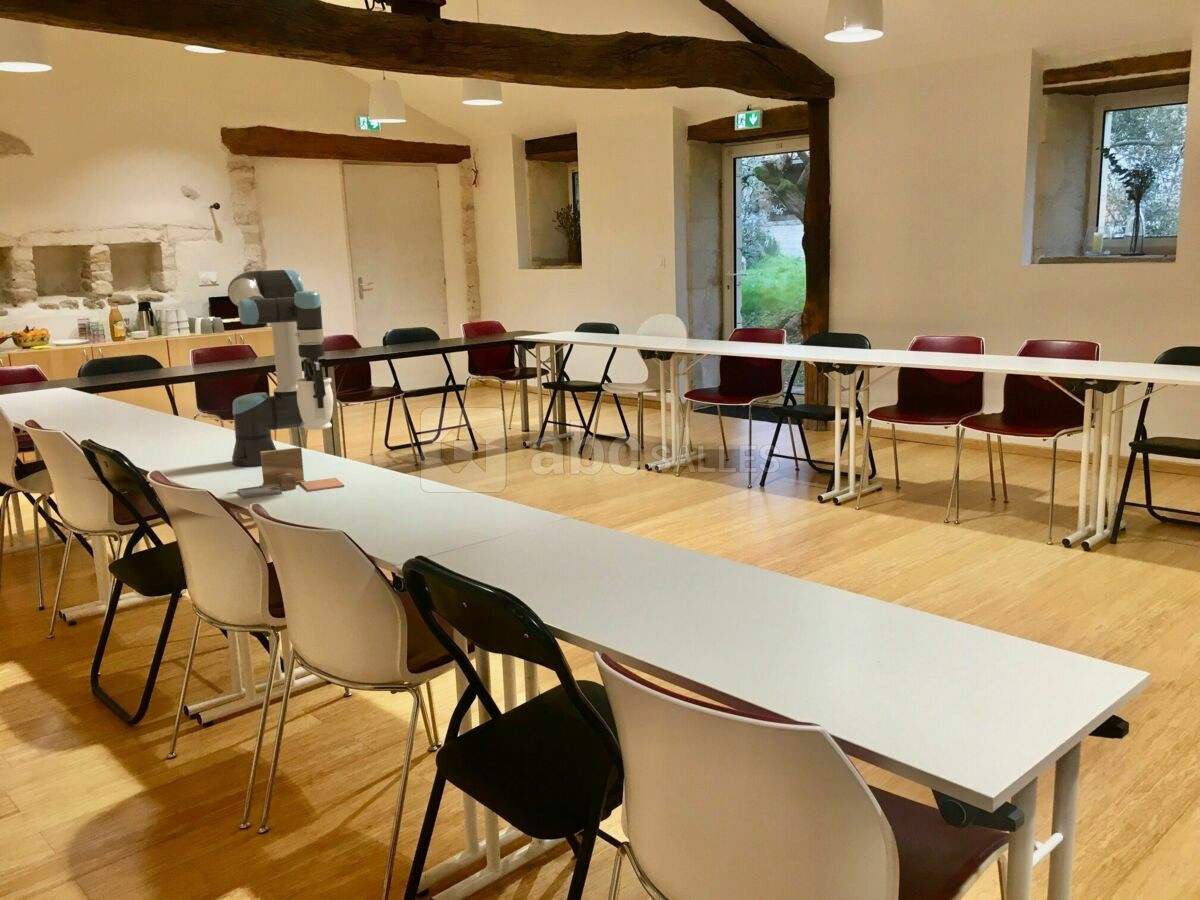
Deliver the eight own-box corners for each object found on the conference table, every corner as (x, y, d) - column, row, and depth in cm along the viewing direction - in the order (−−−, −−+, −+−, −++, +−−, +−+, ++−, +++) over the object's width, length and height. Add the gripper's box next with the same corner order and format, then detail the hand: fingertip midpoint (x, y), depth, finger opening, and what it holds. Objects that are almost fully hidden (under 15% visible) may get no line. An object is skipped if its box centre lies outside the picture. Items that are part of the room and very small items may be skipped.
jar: (340, 424, 309) (336, 376, 306) (328, 430, 299) (324, 381, 296) (306, 424, 310) (302, 377, 307) (294, 431, 300) (290, 381, 297)
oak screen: (262, 485, 310) (259, 450, 308) (301, 480, 316) (299, 446, 314) (265, 488, 306) (262, 453, 304) (305, 483, 312) (302, 449, 309)
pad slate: (237, 491, 304) (237, 489, 304) (274, 486, 309) (274, 484, 309) (243, 498, 294) (243, 496, 294) (281, 493, 299) (281, 491, 299)
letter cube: (280, 487, 307) (278, 473, 306) (293, 486, 308) (292, 472, 307) (282, 490, 303) (281, 476, 302) (295, 488, 305) (294, 474, 304)
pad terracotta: (300, 484, 311) (300, 482, 311) (335, 479, 316) (335, 477, 316) (308, 491, 301) (308, 489, 301) (344, 486, 306) (344, 484, 306)
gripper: (290, 341, 307) (296, 411, 312) (306, 347, 288) (312, 422, 292) (315, 339, 311) (320, 409, 316) (332, 345, 291) (338, 420, 296)
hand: (316, 415), depth 304 cm, fingers closed on jar, 10 cm apart
